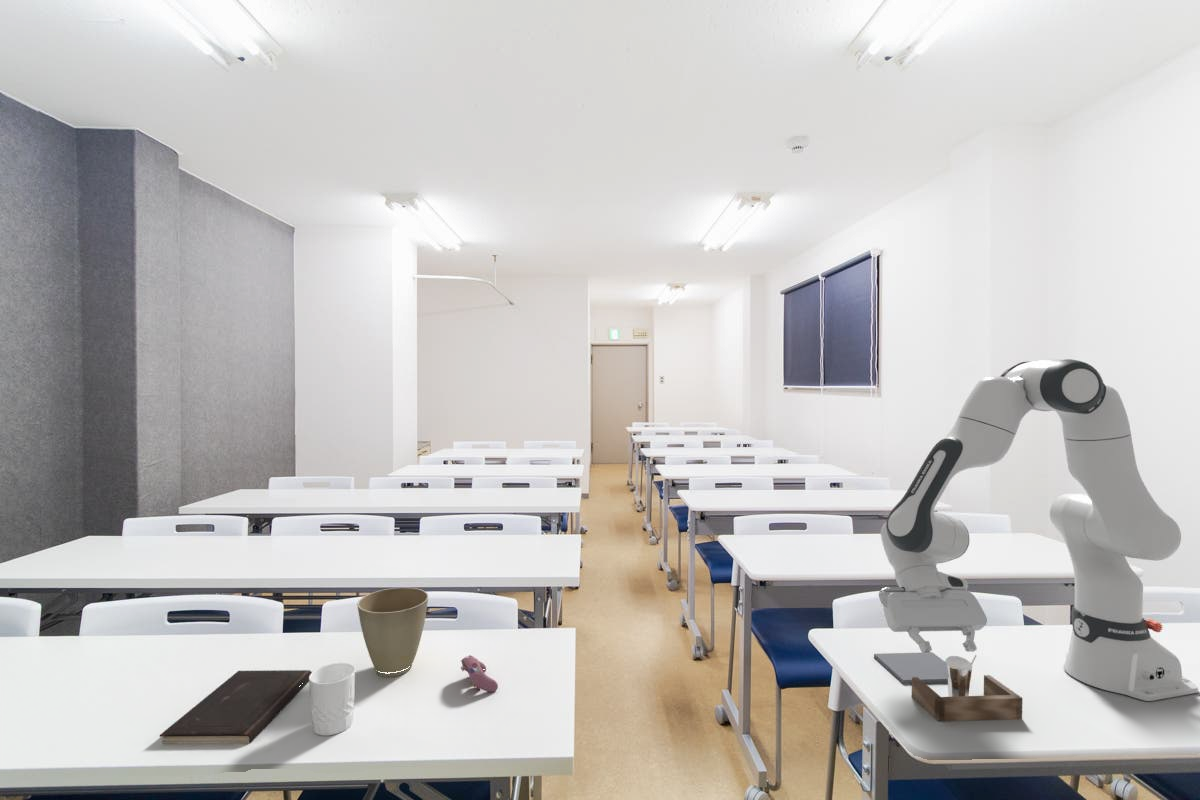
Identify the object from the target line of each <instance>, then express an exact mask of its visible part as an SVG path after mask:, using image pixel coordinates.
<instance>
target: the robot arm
mask: <svg viewBox="0 0 1200 800" xmlns="http://www.w3.org/2000/svg"><path fill="white" fill-rule="evenodd" d="M1030 411H1039V412H1052V411H1054V412H1056V413H1057V415H1058V417H1059V418H1060V420H1061V424H1062V426H1061V427H1062V433H1063V442H1064V448H1065V455H1066V460H1067V467H1068V468H1067V469H1068V471H1069V473H1070V475H1071V476H1072V478H1073V479H1075V480H1076V481H1077V482H1078V483H1079V484H1080V485H1081V487H1082V488H1083V490H1084V491H1085V492H1068V493H1064V494H1061V495H1059V496H1057V498H1056V499H1055V500H1054V501H1052V503H1051V505H1050V508H1049V518H1050V521H1051V523H1052V525H1053V527H1055V528H1056V530H1057V531H1058V532H1059V534H1060V535H1061V537H1062V538H1063V541H1064V543H1065V546H1066V548H1067V551H1068V553H1069V557H1070V560H1071V565H1072V568H1073V573H1074V604H1073V605H1072V606H1071V624H1072V629H1071V630H1072V631H1071V636H1070V641H1069V646H1068V652H1066V655H1065V662H1064V664H1063V670H1064V671H1065V672H1066V673H1068V674H1069V676H1071V677H1072V678H1074V679H1077V680H1078V681H1080V682H1083V683H1084V684H1085V685H1086V684H1087V685H1089V686H1093V687H1095V688H1099V689H1100V690H1105V691H1109V692H1112V693H1116V694H1120V695H1124V696H1129V697H1132V698H1134V699H1137V700H1141V701H1145V702H1152V701H1158V700H1164V699H1170V698H1175V697H1181V696H1186V695H1190V694H1191V695H1192V694H1196V693H1199V688H1198V686H1197V685H1196V684H1195V683H1194V682H1193V681H1191V680H1190V679H1188V678H1187V677H1185V676H1183V670H1182V664H1181V661H1180V660H1179V658H1178V657H1177V655H1176V654H1175V653H1173V652H1171V651H1170V650H1169V649H1168V648H1166V647H1165V646H1163V644H1161V643H1160V642H1158V641H1157V640H1155V639H1154V637H1152V636H1151V633H1150V630H1152V631H1153V632H1155V633H1160V632H1162V631H1163V628H1164V627H1163V624H1162V623H1161V622H1158V621H1155V620H1153V619H1148V620H1147V619H1145V618H1144V617H1143V606H1144V585H1143V582H1142V580H1141V579H1140V577H1139V576H1138V574H1137V573H1136V572H1135V571H1134V569H1132V567H1131V566H1130V563H1129V562H1128V560H1127V558H1131V559H1138V560H1146V561H1155V562H1156V561H1157V562H1158V561H1164V560H1166V559H1168V558H1170V557H1172V556H1173V554H1175V553H1176V551H1178V549H1179V547H1180V544H1181V542H1182V531H1181V529H1180V527H1179V524H1178V523H1177V522H1176V521H1175V520H1174V518H1173V517H1171V516H1170V515H1168V514H1167V513H1166V512H1165V511H1164V510H1163V509H1162V508H1161V507H1160V506H1159V505H1158V504H1157V502H1156V500H1155V499H1154V498H1153V497H1152V495H1151V493H1150V492H1149V490H1148V488H1147V487H1146V485H1145V483H1144V481H1143V479H1142V478H1141V477H1142V476H1141V475H1140V471H1139V468H1138V465H1137V460H1136V456H1135V455H1136V454H1135V451H1134V443H1133V439H1132V433H1131V427H1130V426H1131V425H1130V421H1129V417H1128V415H1127V411H1126V408H1125V405H1124V402H1123V400H1122V399H1121V396H1120V394H1119V392H1118V390H1116V389H1115V388H1113V386H1109V385H1106V384H1105V383H1104V381H1103V378H1102V377H1101V374H1100V372H1099V371H1098V370H1097V369H1096V368H1095V367H1094V366H1092V365H1091V364H1089V363H1086V362H1084V361H1081V360H1077V359H1070V358H1069V359H1057V358H1047V359H1040V360H1033V361H1022V362H1018V363H1016V364H1013V365H1012V366H1010V367H1008V368H1007V369H1005V371H1003V372H1002V373H1001V375H994V376H987V377H983V378H982V379H981V380H979V381H978V382H977V383H976V384H975V386H974V388H973V389H972V390H971V392H970V393H969V395H968V396H967V398H966V400H965V401H964V404H963V406H962V407H961V409H960V412H959V413H958V417H957V419H956V421H955V422H954V425H953V427H952V428H951V429H950V431H948V434H947V435H945V437H944V438H943V439H940V440H939V441H938V442H937V443H936V444H935V445H934V446H933V447H932V448H931V450H930V452H928V455H927V456H926V458H925V460H924V461H923V463H922V465H921V466H920V468H919V470H918V471H917V473H916V475H915V476H914V478H913V480H912V482H911V484H910V485H909V486H908V488H907V490H906V492H905V494H904V495H903V497H902V498H901V499H900V501H899V502H897V504H896V505H895V506H894V507H892V509H891V511H890V512H889V514H888V516H887V518H886V522H884V523H883V525H882V526H881V529H880V539H881V544H882V547H883V550H884V553H885V556H886V557H887V561H888V562H889V563H888V564H890V565H891V567H892V569H893V571H894V576H895V580H896V583H897V586H896V587H890V586H889V587H887V586H885V587H883V588H882V589H880V590H879V592H878V598H879V601H880V603H881V605H882V606H883V612H884V617H885V620H886V624H887V627H888V628H889V629H890V630H891V631H892V632H895V633H901V632H902V633H904V632H905V633H906V632H907V633H908V636H909V637H910V638H911V640H912V641H914V642H915V643H916V644H917V645H918V647H919V649H920V653H924V652H932V650H933V649H932V645H931V643H930V641H929V640H925V639H924V638H923V637H922V636H921V635H920V632H959V631H960V632H961V634H962V635H963V636H965V637H966V638H965V639H966V640H965V641H964V642H963V643H962V646H963V647H964V650H965V652H969V653H970V652H975V651H977V649H978V647H977V645H976V643H975V633H976V631H980V630H982V629H983V628H985V626H986V625H987V623H988V619H987V618H988V617H987V615H986V613H985V612H984V611H985V610H983V608H982V606H981V604H980V602H979V600H978V599H977V598H976V596H975V595H974V594H973V593H972V592H971V591H969V590H967V589H968V588H969V584H968V582H967V581H966V579H964V578H961V577H958V576H954V575H949V574H947V573H944V572H942V571H939V570H938V568H937V565H939V564H943V563H947V562H950V561H953V560H956V559H959V558H961V557H962V556H963V555H964V554H965V553H966V552H967V550H968V548H969V546H970V534H969V533H970V532H969V531H968V528H967V526H966V525H965V524H964V523H963V522H962V521H961V520H960V519H957V518H955V517H952V516H949V515H947V514H944V513H940V512H936V511H935V508H936V505H937V504H938V502H939V500H940V499H941V497H942V495H943V493H944V492H945V491H946V488H947V487H948V485H949V483H950V482H951V481H952V479H953V478H954V477H955V475H957V474H959V473H960V472H962V471H965V470H968V469H973V468H984V467H987V466H991V465H994V464H996V463H998V462H1001V460H1003V458H1004V457H1005V455H1006V454H1007V453H1008V452H1009V451H1010V449H1011V446H1012V444H1013V441H1014V439H1015V436H1016V435H1017V432H1018V429H1019V427H1020V424H1021V421H1022V420H1023V418H1024V416H1026V414H1028V413H1029V412H1030ZM1126 557H1127V558H1126Z"/></svg>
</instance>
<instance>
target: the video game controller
mask: <svg viewBox="0 0 1200 800" xmlns="http://www.w3.org/2000/svg"><path fill="white" fill-rule="evenodd" d="M460 662H461V666H460V670H461V671H462V672H467V673H468V675H469V680H471V682H472V686H473V688H476V689H477V690H479V689H480V690H482V691H485V692H488V693H494V692H496V691H497V690H498V689H499V688H498V687H499V685H498V682H497V681H496V680H495V679H493V678H491V677H490V676H489V675H487V674H486V673H485V672H487V665H485V664H484V663H483V662H482V661H480V660H479V659H478V658H476V657H475V656H473V655H471V654H469V655H467V656H465V657H464V658H462V659H461V660H460ZM483 669H485V670H483Z"/></svg>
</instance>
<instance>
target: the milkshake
mask: <svg viewBox="0 0 1200 800" xmlns="http://www.w3.org/2000/svg"><path fill="white" fill-rule="evenodd" d="M976 658H977V655H976V654H975V655H974V656H973V658H972V661H971V662H970V661H969V660H967V659H966V658H964V657H961V656H958V655H950V656H948V657H947V658H946V659H945V662H946V671H947V679H948V683H947V693H948V697H957V696H970V686H971V679H972V673H973V671H972V670H973V664H974V662H975V660H976Z"/></svg>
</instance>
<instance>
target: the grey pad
mask: <svg viewBox="0 0 1200 800" xmlns="http://www.w3.org/2000/svg"><path fill="white" fill-rule="evenodd" d="M873 658H874V659H875V660H877V662H879V664H881V665H882V666H883V667H884V668H885V669H887V670H888V671H889V673H891V674H892V675H893V676H894V677H895V678H897V679H898V680H899V681H900V682H901V683H902V684H903V685H905V684H909V685H910V684H911V685H912V677H918V678H919V679H920V680H922V681H923V682H924V683H925V684H940V683H941V684H944V683H947V684H948V679H947V671H946V660H944V659H942V658H941V657H939V655H937V654H935V653H934V652H932V651H930V652H924V653H922V652H895V653H894V652H892V653H886V652H885V653H873Z"/></svg>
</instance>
